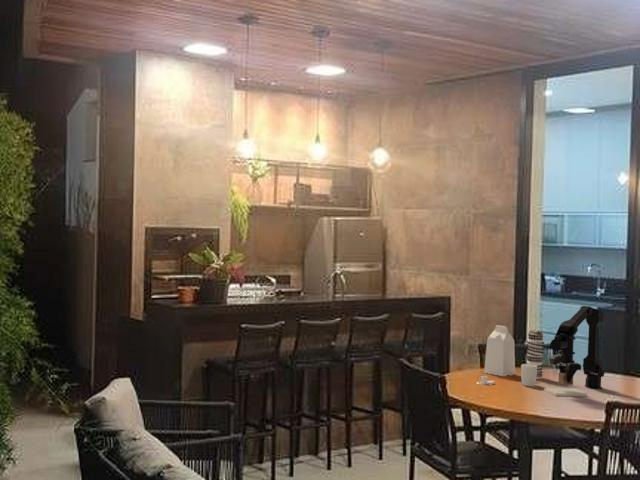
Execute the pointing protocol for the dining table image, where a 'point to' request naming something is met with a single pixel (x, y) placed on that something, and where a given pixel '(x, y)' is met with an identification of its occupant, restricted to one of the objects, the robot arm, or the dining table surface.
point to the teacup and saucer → (485, 380)
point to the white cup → (528, 374)
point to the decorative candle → (535, 350)
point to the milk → (500, 353)
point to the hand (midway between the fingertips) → (565, 381)
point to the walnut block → (564, 379)
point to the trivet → (565, 392)
